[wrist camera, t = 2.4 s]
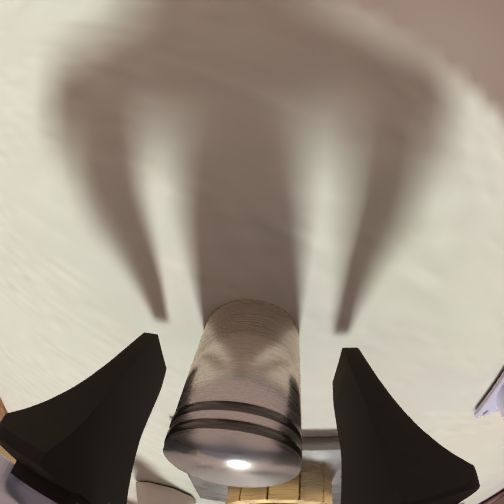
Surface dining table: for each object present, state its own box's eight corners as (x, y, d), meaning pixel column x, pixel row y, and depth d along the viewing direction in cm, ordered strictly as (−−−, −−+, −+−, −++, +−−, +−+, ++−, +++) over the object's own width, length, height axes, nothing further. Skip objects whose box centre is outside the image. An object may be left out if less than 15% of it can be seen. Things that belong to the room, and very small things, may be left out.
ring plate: (401, 430, 15) (410, 473, 12) (345, 495, 21) (346, 522, 18) (173, 424, 16) (159, 468, 13) (202, 490, 22) (196, 517, 19)
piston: (304, 301, 11) (312, 442, 6) (294, 372, 13) (293, 490, 7) (200, 295, 11) (146, 422, 6) (208, 365, 13) (176, 477, 8)
